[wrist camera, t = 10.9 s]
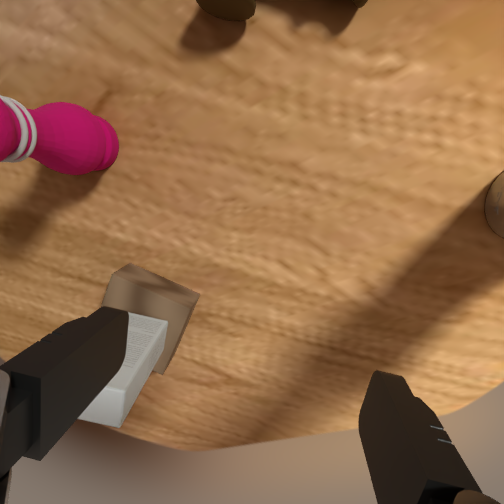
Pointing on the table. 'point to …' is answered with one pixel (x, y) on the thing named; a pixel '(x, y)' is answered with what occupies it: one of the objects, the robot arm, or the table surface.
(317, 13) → the table surface
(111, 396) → the skincare box
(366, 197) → the table surface
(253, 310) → the table surface
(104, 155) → the pepper mill
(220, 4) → the kendama
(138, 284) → the walnut block
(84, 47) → the table surface
